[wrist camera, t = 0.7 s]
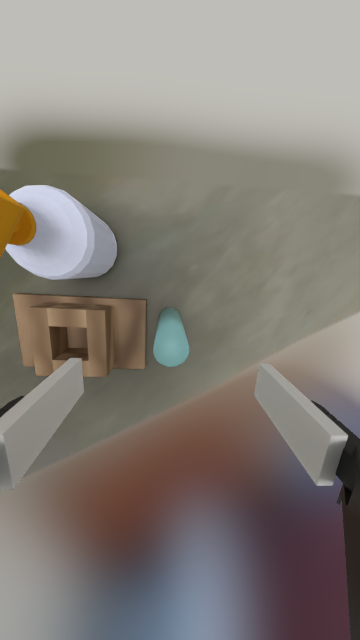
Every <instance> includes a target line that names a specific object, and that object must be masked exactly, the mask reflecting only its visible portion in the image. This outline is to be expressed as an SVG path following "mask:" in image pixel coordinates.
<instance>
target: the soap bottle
mask: <svg viewBox="0 0 360 640" xmlns="http://www.w3.org/2000/svg"><path fill="white" fill-rule="evenodd" d="M5 248H6V250H7V252H8V253H9V254H10V255H11V256H12V258H13V259H14V260H15V261H16V262H17V263H18V264H19V265H21V266H22V267H24V268H25V269H27V270H28V271H30V272H32V273H33V274H35V275H37V276H40V277H44V278H48V279H51V280H55V279H74V278H91V277H98V276H100V275H103V274H105V273H106V272H107V271H108V270H109V269H110V268H111V267H112V266H113V264H114V262H115V259H116V257H117V243H116V239H115V236H114V234H113V232H112V231H111V229H110V228H109V226H108V225H107V224H106V223H105V222H103V221H102V220H101V219H100V218H98V217H97V216H96V215H95V214H93V213H92V212H91V211H90V210H88V209H87V208H86V207H85V206H83V205H82V204H81V203H80V202H78V201H77V200H76V199H74V198H73V197H72V196H70V195H69V194H68V193H66V192H65V191H63V190H60V189H57V188H54V187H51V186H48V185H35V186H24V187H22V188H20V189H18V190H16V191H14V192H12V193H11V194H10V195H7V194H6V193H4V192H3V191H2V190H0V257H1V255H2V253H3V251H4V249H5Z"/></svg>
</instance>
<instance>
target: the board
mask: <svg viewBox="0 0 360 640" xmlns="http://www.w3.org/2000/svg"><path fill="white" fill-rule="evenodd" d="M13 300H14V306H15V313H16V320H17V327H18V333H19V340H20V347H21V354H22V361H23V366H29V367H35V371H36V376H50V375H51V374H52V373H53V372H54V371H56V370H57V369H58V368H59V367H60V366H61V365H63V364H64V363H65V362H66V361H67V360H69V359H70V358H82V372H83V377H107V376H108V375H109V373H110V371H111V369H112V368H118V369H145V366H146V306H147V299H127V298H106V297H85V296H65V295H44V294H24V293H17V294H13Z"/></svg>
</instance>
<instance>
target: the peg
mask: <svg viewBox="0 0 360 640" xmlns="http://www.w3.org/2000/svg"><path fill="white" fill-rule="evenodd" d="M153 354H154V357H155V358H156V360H157V361H158V362H159V363H160V364H162V365H164V366H168V367H174V366H178V365H180V364H182V363H183V362H184V361H185V360H186V359H187V357H188V355H189V345H188V341H187V338H186V334H185V331H184V327H183V323H182V320H181V316H180V314H179V312H178V311H177V310H176V309H174V308H166V309H164V310H163V311H162V312H161V313H160V317H159V322H158V326H157V331H156V336H155V341H154V346H153Z"/></svg>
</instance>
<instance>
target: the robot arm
mask: <svg viewBox="0 0 360 640" xmlns="http://www.w3.org/2000/svg"><path fill="white" fill-rule="evenodd" d="M83 393H84V387H83V372H82V358H70V359H69V360H67V361H66V362H65V363H64V364H63V365H61V366H60V367H59V368H58V369H57V370H56V371H54V372H53V373H52V374H51V375H50V376H49V377H47V378H46V379H45V380H44V381H43V382H42V383H40V384H39V385H38V386H37V387H36V388H34V389H33V390H32V391H31V392H30V393H29V394H27V395H26V396H20V397H18V398H16V399H14V400H13V401H11V402H9V403H8V404H6V405H5V406H4V407H3V408H1V409H0V490H8V489H9V490H10V489H14V488H15V487H16V485H17V484H18V483H19V481H20V480H21V478H22V477H23V476H24V474H25V473H26V472H27V470H28V469H29V467H30V466H31V465H32V463H33V462H34V460H35V459H36V458H37V456H38V455H39V454H40V452H41V451H42V449H43V448H44V447H45V445H46V444H47V443H48V441H49V440H50V438H51V437H52V436H53V434H54V433H55V431H56V430H57V429H58V427H59V426H60V425H61V423H62V422H63V420H64V419H65V418H66V416H67V415H68V413H69V412H70V411H71V409H72V408H73V407H74V405H75V404H76V402H77V401H78V400H79V398H80V397H81V395H82V394H83ZM254 396H255V397H256V399H257V400H258V401H259V403H260V404H261V406H262V407H263V409H264V410H265V412H266V413H267V415H268V416H269V417H270V419H271V420H272V422H273V423H274V425H275V426H276V428H277V429H278V430H279V432H280V433H281V435H282V436H283V438H284V439H285V440H286V442H287V444H288V445H289V446H290V448H291V449H292V451H293V452H294V454H295V455H296V457H297V458H298V459H299V461H300V462H301V464H302V465H303V467H304V468H305V470H306V471H307V472H308V474H309V475H310V477H311V478H312V480H313V481H314V483H315V484H316V485H317V486H320V485H321V486H323V485H324V486H326V485H333V482H334V479H335V476H336V475H337V476H338V478H339V479H340V480H341V481H342V482H343V485H342V488H341V491H340V494H339V497H338V500H337V503H338V504H340V503H341V501H342V512H343V528H344V542H345V558H346V573H347V588H348V604H349V620H350V634H351V640H360V439H359V438H358V437H357V436H356V435H355V434H353V433H352V432H351V431H350V430H349V429H348V428H346V427H345V426H344V425H343V424H342V423H341V422H340V421H338V420H337V419H336V418H335V417H334V416H333V415H331V414H330V413H329V412H328V411H327V410H326V409H325V408H324V407H322V406H321V405H319V404H317V403H316V402H314V401H310V400H309V399H307V398H306V397H305V396H304V395H303V394H302V393H301V392H300V391H299V390H298V389H296V388H295V387H294V386H293V385H292V384H291V383H290V382H289V381H288V380H287V379H286V378H284V377H283V376H282V375H281V374H280V373H279V372H278V371H277V370H276V369H274V368H273V367H272V366H271V365H270V364H259V370H258V376H257V382H256V387H255V393H254Z"/></svg>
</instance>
